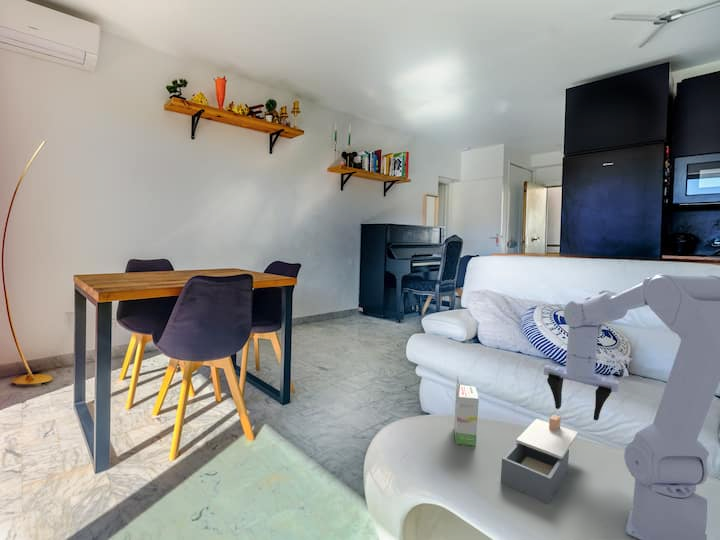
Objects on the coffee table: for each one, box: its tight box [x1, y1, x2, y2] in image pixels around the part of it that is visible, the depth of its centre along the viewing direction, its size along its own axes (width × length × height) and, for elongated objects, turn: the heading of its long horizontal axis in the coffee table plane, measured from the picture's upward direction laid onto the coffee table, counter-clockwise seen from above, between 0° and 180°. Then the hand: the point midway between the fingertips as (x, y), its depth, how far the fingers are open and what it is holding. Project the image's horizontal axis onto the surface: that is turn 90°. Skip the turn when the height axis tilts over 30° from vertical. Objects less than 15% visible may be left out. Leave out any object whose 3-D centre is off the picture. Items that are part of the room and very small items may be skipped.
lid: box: [515, 414, 579, 459], centre depth 82 cm, size 9×14×3 cm, turn 138°
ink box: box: [453, 374, 480, 447], centre depth 91 cm, size 9×5×15 cm, turn 168°
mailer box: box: [500, 442, 570, 505], centre depth 76 cm, size 9×14×5 cm, turn 138°
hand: (576, 413), depth 84 cm, fingers open, 7 cm apart
